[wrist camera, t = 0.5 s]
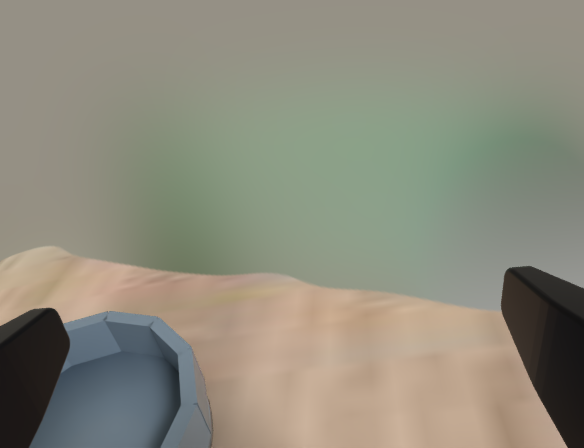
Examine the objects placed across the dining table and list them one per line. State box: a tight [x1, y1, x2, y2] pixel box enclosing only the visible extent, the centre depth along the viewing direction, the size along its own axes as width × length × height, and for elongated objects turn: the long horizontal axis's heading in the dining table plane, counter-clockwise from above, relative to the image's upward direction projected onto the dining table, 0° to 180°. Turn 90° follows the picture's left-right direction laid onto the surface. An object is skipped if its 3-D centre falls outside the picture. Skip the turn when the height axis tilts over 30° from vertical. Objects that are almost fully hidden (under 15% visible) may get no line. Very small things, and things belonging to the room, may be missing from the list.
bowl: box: [29, 311, 213, 448], centre depth 22 cm, size 14×14×4 cm
